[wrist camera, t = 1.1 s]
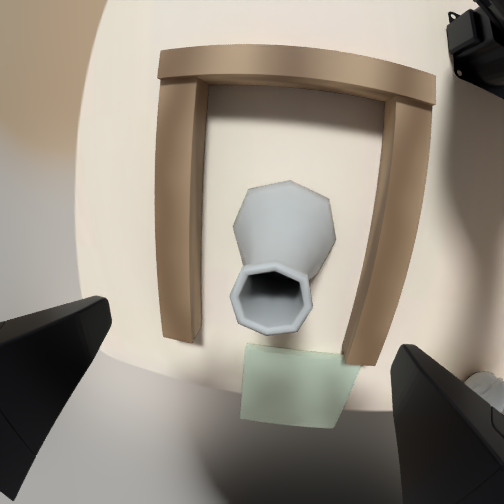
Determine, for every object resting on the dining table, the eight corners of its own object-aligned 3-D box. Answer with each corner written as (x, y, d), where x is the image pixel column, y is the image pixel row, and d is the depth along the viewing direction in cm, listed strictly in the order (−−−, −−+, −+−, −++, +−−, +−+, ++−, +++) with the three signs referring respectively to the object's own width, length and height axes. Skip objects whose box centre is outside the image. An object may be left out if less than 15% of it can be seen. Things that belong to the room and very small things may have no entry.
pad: (361, 355, 23) (362, 361, 22) (333, 422, 26) (333, 428, 25) (246, 343, 24) (245, 348, 23) (241, 413, 27) (239, 418, 26)
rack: (418, 84, 15) (435, 75, 12) (369, 346, 22) (376, 369, 19) (178, 61, 17) (160, 50, 14) (174, 320, 24) (160, 340, 21)
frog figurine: (436, 404, 24) (453, 450, 17) (466, 356, 21) (493, 403, 15) (472, 401, 23) (491, 442, 16) (502, 356, 20) (528, 396, 14)
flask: (237, 174, 19) (179, 197, 10) (343, 187, 18) (385, 222, 9) (230, 271, 22) (183, 356, 12) (326, 284, 21) (340, 380, 12)
